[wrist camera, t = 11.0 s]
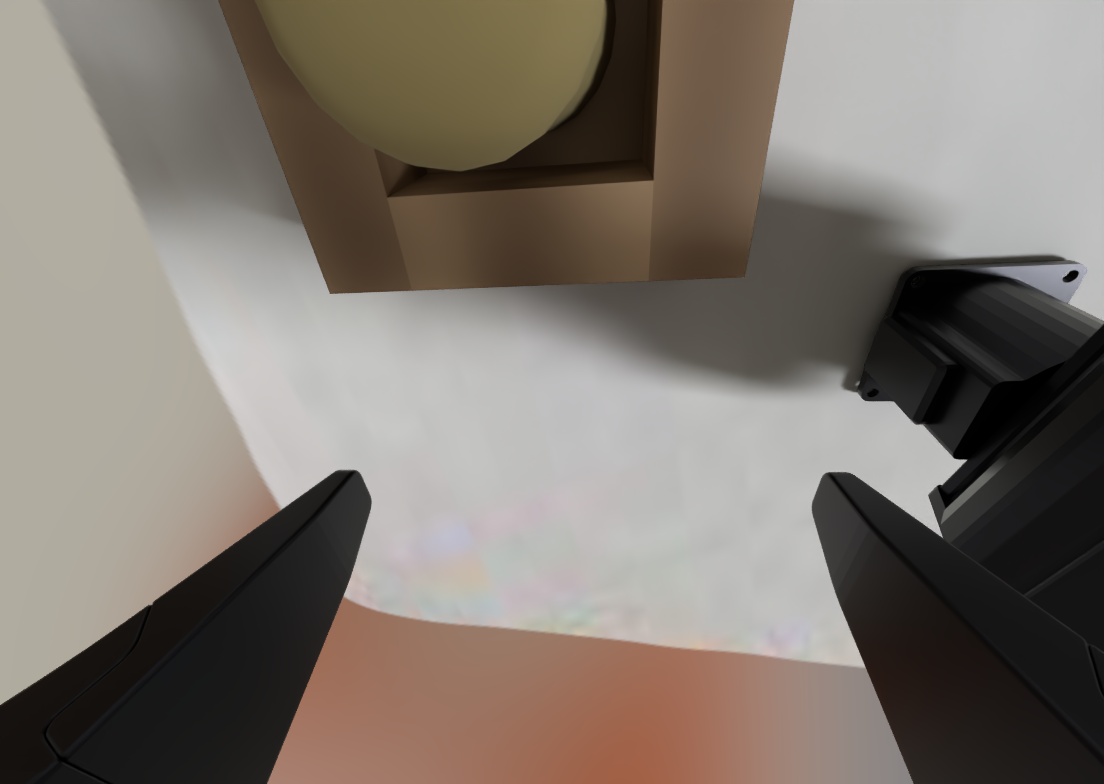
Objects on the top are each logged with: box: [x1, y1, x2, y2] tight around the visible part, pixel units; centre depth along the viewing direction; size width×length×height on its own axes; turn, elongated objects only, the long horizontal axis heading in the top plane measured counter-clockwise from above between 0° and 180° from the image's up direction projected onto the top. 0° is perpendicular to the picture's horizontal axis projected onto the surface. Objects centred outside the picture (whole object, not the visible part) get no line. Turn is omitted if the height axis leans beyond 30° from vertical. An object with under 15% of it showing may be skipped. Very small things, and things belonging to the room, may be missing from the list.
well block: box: [219, 0, 794, 294], centre depth 13 cm, size 14×14×5 cm
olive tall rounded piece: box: [255, 0, 616, 171], centre depth 10 cm, size 6×6×11 cm
